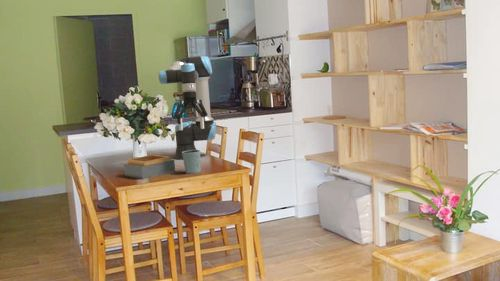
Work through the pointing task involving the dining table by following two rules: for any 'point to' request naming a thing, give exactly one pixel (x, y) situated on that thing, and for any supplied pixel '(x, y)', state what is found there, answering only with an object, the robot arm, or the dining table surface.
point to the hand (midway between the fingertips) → (191, 129)
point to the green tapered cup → (191, 161)
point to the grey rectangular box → (149, 166)
